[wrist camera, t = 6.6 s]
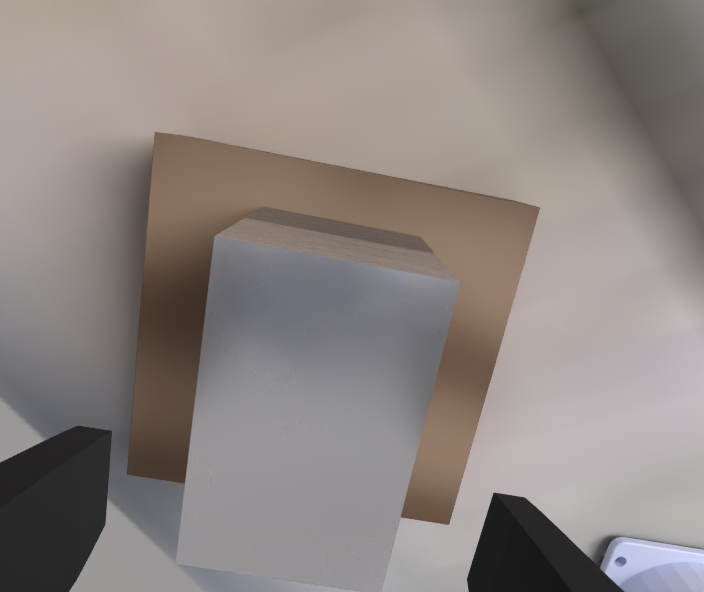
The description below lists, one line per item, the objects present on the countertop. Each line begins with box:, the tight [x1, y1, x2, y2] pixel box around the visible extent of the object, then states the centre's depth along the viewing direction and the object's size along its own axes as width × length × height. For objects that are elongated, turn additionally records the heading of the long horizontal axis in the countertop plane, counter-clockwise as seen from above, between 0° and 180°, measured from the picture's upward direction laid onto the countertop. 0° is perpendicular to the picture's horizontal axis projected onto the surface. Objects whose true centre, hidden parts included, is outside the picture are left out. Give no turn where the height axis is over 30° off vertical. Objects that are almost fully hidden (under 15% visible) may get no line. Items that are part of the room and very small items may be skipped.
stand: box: [127, 132, 540, 525], centre depth 18 cm, size 12×12×2 cm
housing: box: [176, 207, 461, 592], centre depth 14 cm, size 8×5×6 cm, turn 169°
